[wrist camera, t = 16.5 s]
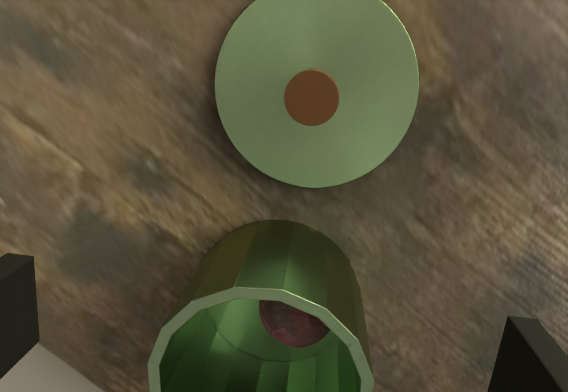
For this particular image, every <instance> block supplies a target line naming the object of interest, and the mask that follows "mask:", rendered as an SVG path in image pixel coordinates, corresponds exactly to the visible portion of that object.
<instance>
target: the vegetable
mask: <svg viewBox="0 0 568 392" xmlns="http://www.w3.org/2000/svg"><path fill="white" fill-rule="evenodd" d="M259 314H260V318H261V321H262V323H263V325H264V327H265V329H266V330H267V331H268V333H269V334H270V335H271V336H272V337H273V338H275V339H276V340H277V341H279V342H280V343H282V344H284V345H286V346H289V347H295V348H302V347H307V346H310V345H313V344H315V343H317V342H319V341H320V340H322V339H323V338H324V337H325V336H326V335H327V334H328V332H329V331H330V329H329V328H328V327H327V326H326V325H325V324H324V323H323V322H322V321H321V320H320V319H319V318H318V317H316V316H313V315H311V314H309V313H306V312H304V311H302V310H299V309H297V308H295V307H292V306H290V305H288V304H285V303H283V302H281V301H272V300H260V302H259Z"/></svg>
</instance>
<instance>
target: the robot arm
mask: <svg viewBox="0 0 568 392" xmlns="http://www.w3.org/2000/svg"><path fill="white" fill-rule="evenodd" d="M39 341H40V340H39V326H38V312H37V298H36V283H35V269H34V256H27V255H19V254H11V253H7V254H5V255H4V256H2V257H0V379H1V378H2V377H3V376H4V375H5V374H6V373H7V372H8V371H9V370H10V369H11V368H12V367H13V366H14V365H15V364H16V363H17V362H18V361H19V360H20V359H21V358H22V357H23V356H24V355H25V354H26V353H27V352H28V351H29V350H31V349H32V348H33V347H34V346H35V345H36V344H37V343H38V342H39ZM488 392H568V356H567V355H566V354H565V353H564V351H563V350H562V349H561V348H560V347H559V345H558V344H557V343H556V342H555V340H554V339H553V338H552V337H551V336H550V334H549V333H548V332H547V331H546V329H545V328H544V327H543V326H542V325H541V323H540V322H539V321H538V320H537V319H531V318H523V317H515V316H508V317H507V321H506V324H505V328H504V332H503V336H502V339H501V343H500V347H499V351H498V354H497V358H496V362H495V366H494V369H493V373H492V377H491V381H490V384H489V388H488Z"/></svg>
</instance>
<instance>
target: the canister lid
mask: <svg viewBox="0 0 568 392" xmlns="http://www.w3.org/2000/svg"><path fill="white" fill-rule="evenodd" d="M418 94H419V70H418V62H417V58H416V54H415V49H414V47H413V44H412V42H411V39H410V36H409V35H408V33H407V31H406V29H405V27H404V26H403V24H402V22H401V21H400V20H399V18H398V17H397V16H396V14H395V13H394V12H393V11H392V10H391V9H390V8H389V7H388V6H387V5H386V4H385V3H384V2H383V1H381V0H255V1H253V2H252V3H251V4H250V5H249V6H248V7H247V8H246V9H245V10H244V11H243V12H242V13H241V14H240V16H239V17H238V18H237V19H236V21H235V22H234V23H233V25H232V27H231V28H230V30H229V32H228V33H227V35H226V37H225V39H224V42H223V44H222V46H221V49H220V53H219V56H218V59H217V65H216V71H215V98H216V104H217V109H218V113H219V116H220V119H221V122H222V125H223V127H224V129H225V131H226V133H227V135H228V137H229V139H230V140H231V142H232V143H233V145H234V146H235V148H236V149H237V150H238V151H239V152H240V153H241V155H242V156H243V157H244V158H245V159H246V160H247V161H248V162H250V163H251V164H252V165H253V166H254V167H255V168H257V169H258V170H260V171H261V172H263V173H264V174H266V175H268V176H270V177H272V178H274V179H276V180H279V181H281V182H284V183H287V184H291V185H296V186H301V187H311V188H316V187H329V186H336V185H340V184H343V183H347V182H350V181H352V180H355V179H357V178H359V177H361V176H363V175H365V174H367V173H368V172H370V171H372V170H373V169H374V168H376V167H377V166H378V165H380V164H381V163H382V162H383V161H384V160H385V159H386V158H387V157H388V156H389V155H390V154H391V153H392V152H393V151H394V150H395V148H396V147H397V146H398V145H399V143H400V142H401V140H402V139H403V137H404V135H405V134H406V132H407V130H408V128H409V126H410V123H411V121H412V119H413V116H414V112H415V109H416V106H417V100H418Z"/></svg>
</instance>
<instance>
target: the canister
mask: <svg viewBox="0 0 568 392" xmlns="http://www.w3.org/2000/svg"><path fill="white" fill-rule="evenodd" d="M260 300H272V301H281V302H283V303H285V304H288V305H290V306H292V307H295V308H297V309H299V310H302V311H304V312H306V313H309V314H311V315H313V316H316V317H318V318H319V319H320V320H321V321H322V322H323V323H324V324H325V325H326V326H327V327H328V328H329V329H330V331H329V332H328V334H327V335H326V336H325V337H324V338H323V339H322V340H320V341H319V342H317V343H315V344H313V345H310V346H307V347H302V348H295V347H289V346H286V345H284V344H282V343H280V342H279V341H277V340H276V339H275V338H273V337H272V336H271V335H270V334H269V333H268V331H267V330H266V329H265V327H264V325H263V323H262V321H261V318H260V314H259V302H260ZM147 366H148V378H149V390H150V392H373V385H374V376H373V369H372V363H371V356H370V350H369V343H368V337H367V330H366V324H365V317H364V311H363V304H362V298H361V291H360V287H359V284H358V282H357V279H356V276H355V273H354V270H353V268H352V266H351V264H350V261H349V259H348V258H347V257H346V256H345V254H344V253H343V252H342V251H341V250H340V248H339V247H338V246H337V245H336V244H335V243H334V242H332V241H331V240H330V239H329V238H328V237H326V236H325V235H323V234H322V233H320V232H318V231H316V230H314V229H312V228H310V227H308V226H305V225H302V224H299V223H295V222H290V221H282V220H266V221H259V222H254V223H251V224H247V225H244V226H242V227H240V228H237V229H235V230H234V231H232V232H230V233H228V234H227V235H226V236H225V237H223V238H222V239H221V240H220V241H219V242H218V243H217V244H216V245H215V246H214V247H213V248H212V249H211V250H210V251H209V252H208V253H207V254H206V256H205V258H204V259H203V261H202V263H201V264H200V266H199V268H198V269H197V271H196V272H195V274H194V276H193V277H192V279H191V281H190V282H189V284H188V285H187V287H186V289H185V290H184V292H183V294H182V295H181V297H180V298H179V300H178V302H177V303H176V305H175V307H174V308H173V310H172V312H171V313H170V315H169V316H168V318H167V320H166V321H165V323H164V325H163V326H162V328H161V330H160V332H159V335H158V337H157V340H156V342H155V345H154V347H153V350H152V352H151V355H150V357H149V360H148V364H147Z"/></svg>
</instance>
